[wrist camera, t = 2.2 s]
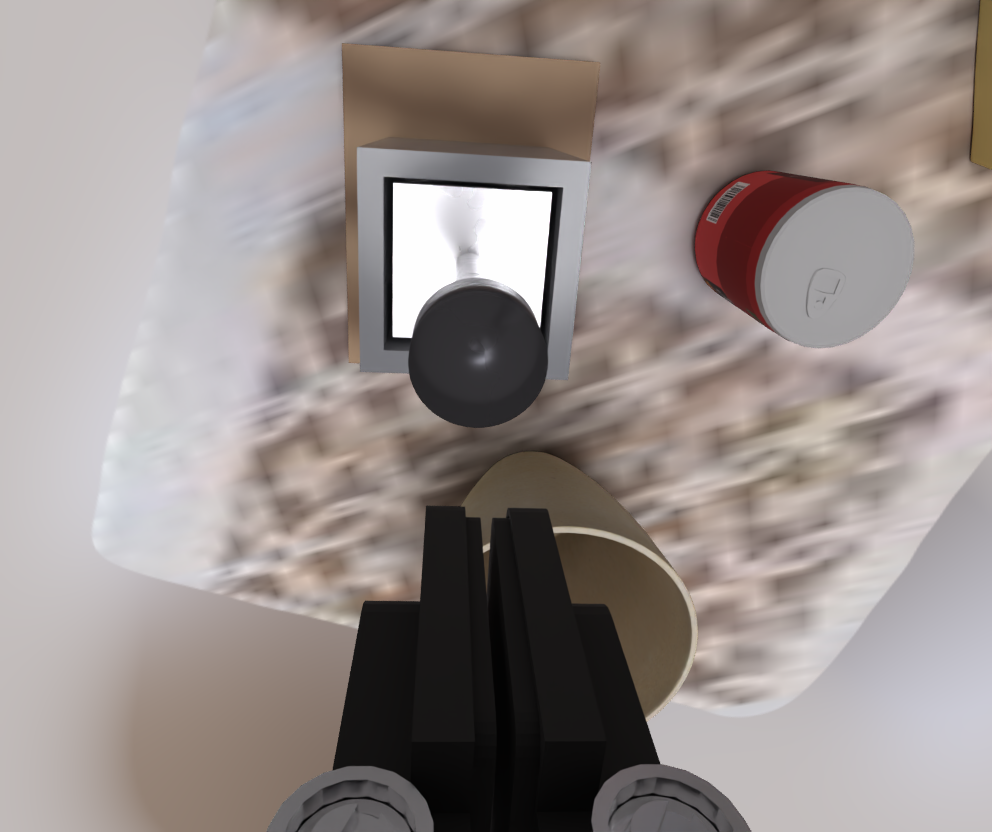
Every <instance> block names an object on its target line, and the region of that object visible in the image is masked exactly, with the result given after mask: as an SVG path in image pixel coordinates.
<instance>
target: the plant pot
mask: <svg viewBox="0 0 992 832" xmlns="http://www.w3.org/2000/svg"><path fill="white" fill-rule="evenodd" d="M461 507H465V510H466V517H480V518H481V529H482V542H483V555H484V568H485V581H486V593H487V581H488V566H489V551H490V537H491V523H492V518H506V513H507V509H508V508H546V509H547V510H548V512H549V516H550V520H551V524H552V528H553V532H554V536H555V540H556V543H557V547H558V551H559V555H560V559H561V563H562V567H563V571H564V575H565V579H566V583H567V587H568V591H569V595H570V599H571V603H580V604H605V605H606V606H607V607H608V608H609V611H610V613H611V615H612V618H613V621H614V624H615V627H616V631H617V634H618V637H619V640H620V643H621V646H622V649H623V652H624V655H625V658H626V661H627V664H628V667H629V670H630V673H631V676H632V679H633V682H634V685H635V688H636V691H637V694H638V698H639V701H640V704H641V707H642V710H643V713H644V716H645V719H646V722H647V721H649V720H650V719H651V718H652V717H654V716H655V715H656V714H658V713H659V712H660V711H661V710H662V709H663V708H664V707H665V706H666V705H667V704H668V703H669V702H670V701H671V699H672V698H673V697H674V696H675V694H676V693H677V692H678V690H679V689H680V687H681V686H682V684H683V682H684V681H685V679H686V677H687V675H688V673H689V671H690V668H691V666H692V663H693V661H694V657H695V653H696V648H697V640H698V625H697V617H696V612H695V608H694V604H693V601H692V599H691V596H690V594H689V592H688V590H687V588H686V586H685V585H684V583H683V581H682V580H681V578H680V577H679V576H678V574H677V573H676V572H675V570H674V569H673V567H672V566H671V565H670V563H669V562H668V561H667V559H666V558H665V557H664V555H663V554H662V553H661V551H660V550H659V549H658V548H657V546H656V545H655V544H654V542H653V541H652V540H651V538H650V537H649V536H648V534H647V533H646V532H645V531H644V530H643V528H642V527H641V526H640V525H639V524H638V523H637V521H636V520H635V519H634V518H633V517H632V516H631V515H630V514H629V513H628V512H627V510H626V509H625V508H624V507H623V506H622V505H621V504H620V503H619V502H617V501H616V500H615V499H614V498H613V497H612V496H611V495H610V494H609V493H608V492H607V491H606V490H605V489H603V488H602V487H601V486H600V485H599V484H598V483H596V482H595V481H594V480H592V479H591V478H590V477H589V476H587V475H586V474H584V473H583V472H582V471H580V470H579V469H577V468H576V467H574V466H572V465H571V464H569V463H567V462H565V461H564V460H562V459H560V458H558V457H556V456H553V455H551V454H547V453H544V452H537V451H525V452H519V453H515V454H512V455H509V456H507V457H505V458H503V459H501V460H500V461H498V462H497V463H496V464H494V465H493V466H492V467H491V468H490V469H489V470H488V471H487V472H486V473H485V474H484V475H483V477H482V478H481V479H480V480H479V481H478V482H477V484H476V485H475V486H474V487H473V489H472V490H471V491H470V493H469V494H468V496H467V497H466V499H465V500H464V502H463V503H462V505H461Z"/></svg>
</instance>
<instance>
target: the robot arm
mask: <svg viewBox="0 0 992 832" xmlns="http://www.w3.org/2000/svg"><path fill="white" fill-rule="evenodd" d="M267 832H751V830H750V828H749V827H748V825H747V823H746V821H745V820H744V818H743V817H742V816H741V814H740V813H739V812H738V811H737V809H736V808H735V807H734V805H733V804H732V803H731V801H730V800H729V799H728V798H727V797H726V796H725V795H723V794H722V793H721V792H720V791H719V790H717V789H716V788H715V787H714V786H712V785H711V784H710V783H709V782H707V781H705V780H704V779H702V778H700V777H698V776H696V775H694V774H692V773H690V772H688V771H686V770H682V769H678V768H674V767H670V766H667V765H662V764H660V761H659V758H658V756H657V752H656V749H655V746H654V743H653V740H652V737H651V734H650V731H649V728H648V725H647V722H646V719H645V716H644V713H643V710H642V707H641V704H640V701H639V698H638V694H637V691H636V688H635V685H634V682H633V679H632V676H631V673H630V670H629V667H628V664H627V661H626V658H625V655H624V652H623V649H622V646H621V643H620V640H619V637H618V634H617V631H616V627H615V624H614V621H613V618H612V615H611V613H610V611H609V608H608V607H607V606H606V605H605V604H580V603H571V599H570V595H569V591H568V587H567V583H566V579H565V575H564V571H563V567H562V563H561V559H560V555H559V551H558V547H557V543H556V540H555V536H554V532H553V528H552V524H551V520H550V516H549V512H548V510H547V509H546V508H508V509H507V513H506V518H492V523H491V537H490V551H489V566H488V581H487V593H486V581H485V568H484V555H483V542H482V529H481V518H480V517H466V510H465V507H460V506H426V517H425V533H424V549H423V565H422V581H421V597H420V602H418V601H365V602H364V603H363V607H362V611H361V617H360V622H359V628H358V633H357V639H356V644H355V649H354V655H353V660H352V666H351V671H350V677H349V683H348V688H347V694H346V699H345V705H344V710H343V716H342V721H341V726H340V732H339V737H338V743H337V749H336V754H335V759H334V765H333V770H332V771H329V772H325V773H323V774H321V775H319V776H317V777H316V778H314V779H312V780H310V781H308V782H307V783H305V784H303V785H301V786H300V787H299V788H298V789H297V790H296V791H295V792H294V793H293V794H292V795H291V796H290V797H289V798H288V799H287V800H286V801H284V802H283V804H282V805H281V807H280V808H279V810H278V812H277V813H276V815H275V817H274V818H273V820H272V822H271V823H270V825H269V827H268V829H267Z"/></svg>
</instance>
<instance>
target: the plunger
mask: <svg viewBox="0 0 992 832" xmlns="http://www.w3.org/2000/svg"><path fill="white" fill-rule="evenodd" d="M551 197H552V192H551V191H549V190H533V189H516V188H499V187H483V186H466V185H449V184H433V183H416V182H400V181H395V182H394V183H393V337H404V338H412V339H411V344H410V349H409V356H408V368H409V374H410V379H411V382H412V385H413V387H414V389H415V391H416V393H417V395H418V396H419V398H420V399H421V401H422V402H423V403H424V404H425V405H426V406H427V408H429V409H430V410H431V411H432V412H433V413H434V414H436V415H437V416H439V417H440V418H442V419H444V420H446V421H448V422H451V423H453V424H456V425H460V426H465V427H473V428H482V427H490V426H495V425H499V424H502V423H504V422H507V421H509V420H511V419H513V418H515V417H517V416H518V415H519V414H521V413H522V412H524V411H525V410H526V409H527V408H528V407H529V406H530V405H531V404H532V403H533V401H534V400H535V399H536V397H537V396H538V394H539V393H540V391H541V389H542V387H543V384H544V382H545V379H546V375H547V369H548V352H547V347H546V343H545V340H544V337H543V335H542V332H541V330H540V320H541V309H542V298H543V287H544V276H545V264H546V253H547V242H548V231H549V220H550V208H551Z"/></svg>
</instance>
